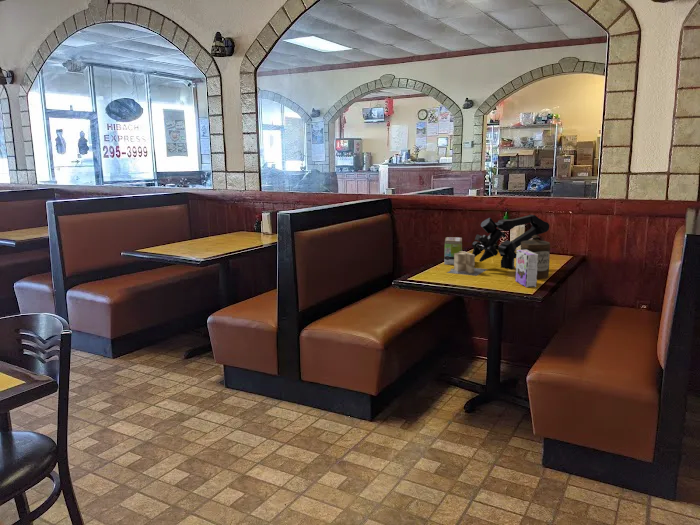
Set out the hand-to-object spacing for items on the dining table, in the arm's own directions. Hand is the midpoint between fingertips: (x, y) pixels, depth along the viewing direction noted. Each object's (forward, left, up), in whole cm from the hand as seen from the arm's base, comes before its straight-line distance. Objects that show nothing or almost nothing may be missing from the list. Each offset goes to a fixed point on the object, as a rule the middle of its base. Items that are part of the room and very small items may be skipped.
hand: (475, 259), depth 308 cm
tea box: (+20, -16, -7) cm, 26 cm away
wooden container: (-31, -2, -7) cm, 32 cm away
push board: (+3, +4, -6) cm, 8 cm away
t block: (+5, +6, -6) cm, 10 cm away
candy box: (-32, +18, -7) cm, 38 cm away
